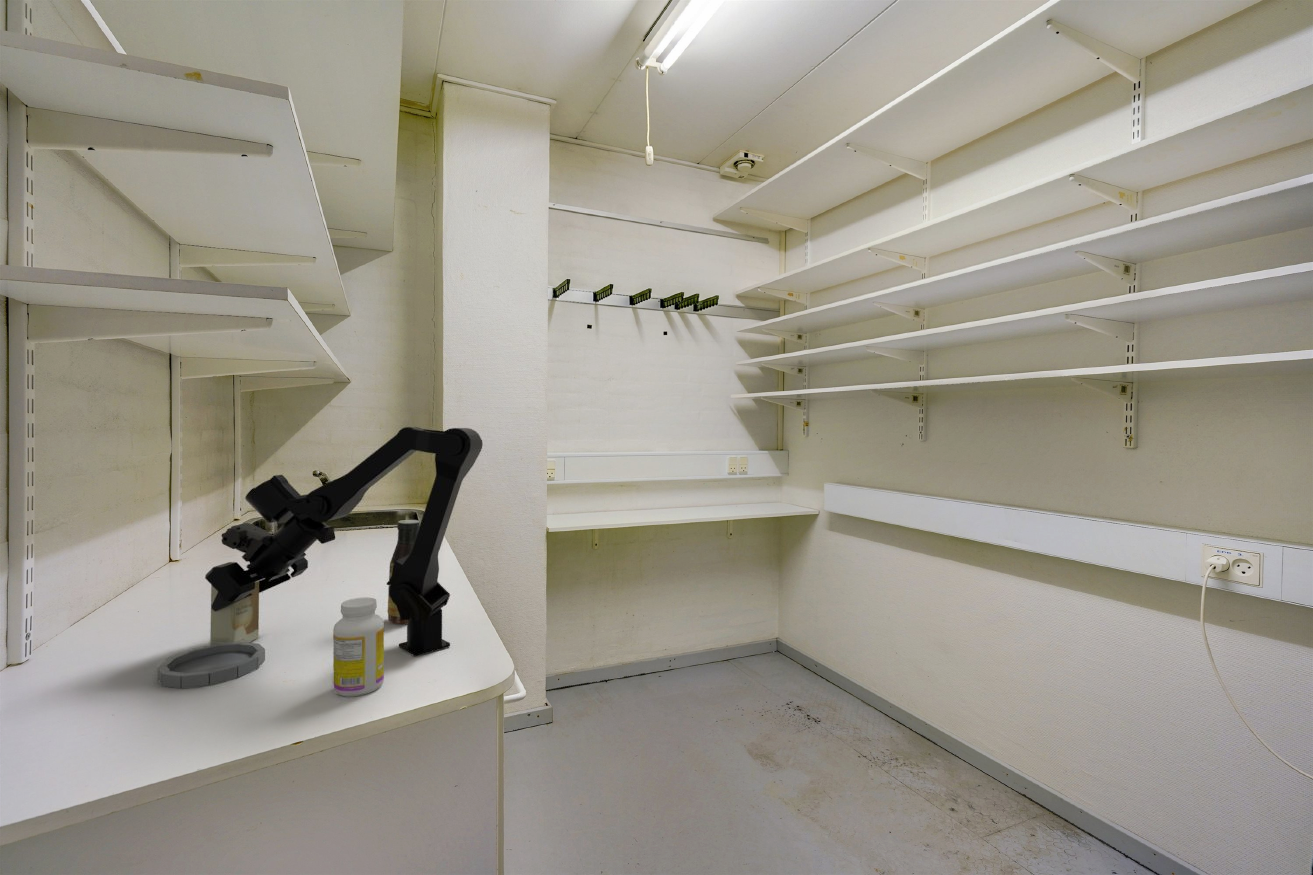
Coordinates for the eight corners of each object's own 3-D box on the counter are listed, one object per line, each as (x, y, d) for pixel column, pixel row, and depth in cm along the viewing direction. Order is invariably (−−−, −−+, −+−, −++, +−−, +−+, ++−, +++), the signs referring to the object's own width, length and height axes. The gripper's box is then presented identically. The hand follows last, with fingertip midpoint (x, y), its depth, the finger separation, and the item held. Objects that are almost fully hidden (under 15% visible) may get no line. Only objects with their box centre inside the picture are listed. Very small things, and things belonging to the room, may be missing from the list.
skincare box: (234, 651, 98) (234, 579, 98) (208, 650, 98) (208, 579, 98) (260, 637, 104) (260, 570, 104) (237, 636, 104) (237, 569, 104)
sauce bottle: (380, 623, 113) (381, 522, 112) (403, 613, 118) (404, 517, 118) (407, 627, 110) (408, 524, 110) (429, 617, 116) (430, 519, 116)
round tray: (274, 668, 91) (274, 657, 91) (167, 696, 82) (167, 683, 81) (251, 646, 100) (251, 636, 100) (152, 669, 90) (152, 657, 90)
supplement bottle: (371, 674, 90) (372, 592, 90) (392, 686, 86) (392, 601, 85) (325, 688, 85) (325, 602, 84) (344, 703, 80) (345, 611, 80)
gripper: (292, 501, 110) (235, 558, 110) (217, 517, 91) (148, 585, 92) (333, 543, 110) (275, 599, 110) (266, 567, 91) (197, 635, 92)
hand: (227, 603), depth 101 cm, fingers closed on skincare box, 6 cm apart
